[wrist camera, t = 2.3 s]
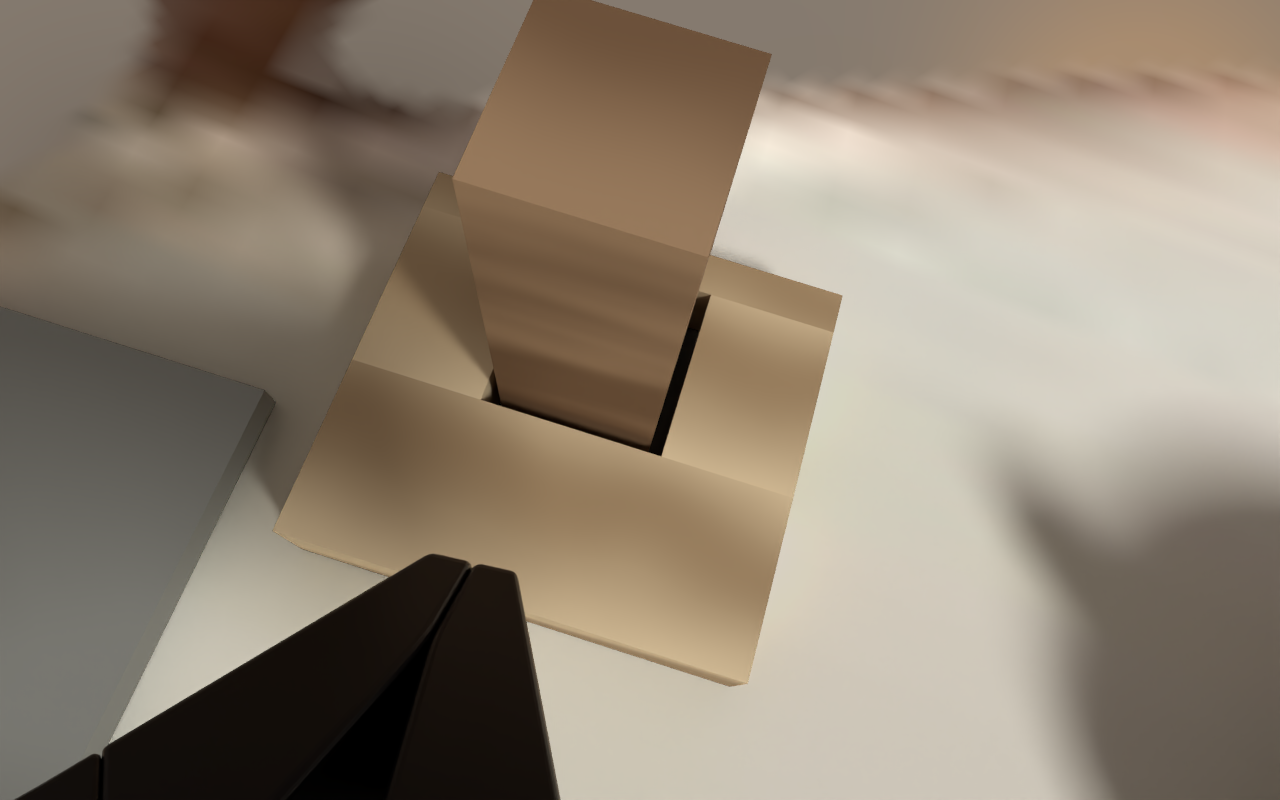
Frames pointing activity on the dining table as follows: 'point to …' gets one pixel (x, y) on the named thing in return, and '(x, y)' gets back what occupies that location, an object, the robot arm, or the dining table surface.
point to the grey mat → (98, 526)
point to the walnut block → (600, 207)
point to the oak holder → (573, 462)
